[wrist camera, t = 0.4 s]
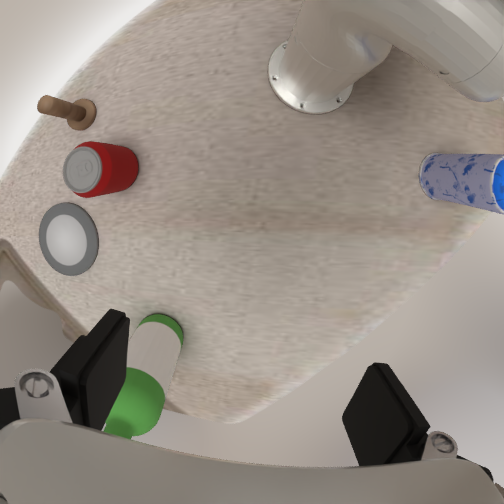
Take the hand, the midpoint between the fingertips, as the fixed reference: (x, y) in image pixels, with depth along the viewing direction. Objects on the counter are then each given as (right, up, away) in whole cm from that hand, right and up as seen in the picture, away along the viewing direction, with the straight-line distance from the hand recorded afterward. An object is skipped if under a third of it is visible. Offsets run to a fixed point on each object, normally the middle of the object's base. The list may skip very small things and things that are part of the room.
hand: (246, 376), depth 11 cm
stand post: (-26, +26, +28) cm, 46 cm away
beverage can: (-19, +17, +31) cm, 40 cm away
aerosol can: (+31, +17, +32) cm, 48 cm away
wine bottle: (-15, -9, +38) cm, 41 cm away
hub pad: (-30, +7, +33) cm, 45 cm away
